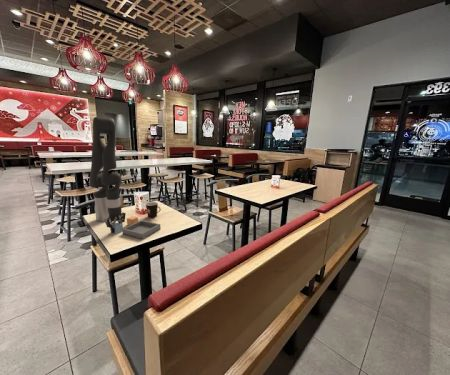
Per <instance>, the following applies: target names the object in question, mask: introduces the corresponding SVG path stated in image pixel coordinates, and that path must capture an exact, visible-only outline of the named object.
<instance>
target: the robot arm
mask: <svg viewBox="0 0 450 375" xmlns="http://www.w3.org/2000/svg"><path fill="white" fill-rule="evenodd" d="M116 132H117V131H116V122H115V120H114V118H110V117H102V116H95V117H94V118H93V120H92V150H91V166H90V172H89V180H88V181H89V185H90V187H91V188H93V189H96V188H97V189H98V188H100V189H99V190H97V191H96V192H94V193H93V198H94V205H95V206H94V213H95V220H96V221H97V222H104V223H105V225H106V227H107V228H109V229H111V230H110V233H111V232H112V233H111V234H114V233H115V229H114V225H115V223H121V224H123V223H125V222H126V212H122V211H123V210H122V200H121V195H120V187H121V183H122V176H121V174H120V173H118V172H114V173H113V172H112V173H109V171H111V170H115V169H117V159H116V158H117V157H116ZM102 134H103V135H108V136H109V137H108V141H107V144H106V145H105V143H104V142H103V140H102V138H101V135H102ZM101 170H102V173H100V171H101ZM109 186H114V187H112V188H111V187H109Z"/></svg>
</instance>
